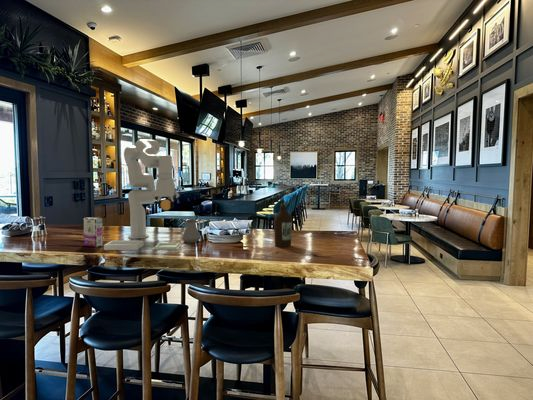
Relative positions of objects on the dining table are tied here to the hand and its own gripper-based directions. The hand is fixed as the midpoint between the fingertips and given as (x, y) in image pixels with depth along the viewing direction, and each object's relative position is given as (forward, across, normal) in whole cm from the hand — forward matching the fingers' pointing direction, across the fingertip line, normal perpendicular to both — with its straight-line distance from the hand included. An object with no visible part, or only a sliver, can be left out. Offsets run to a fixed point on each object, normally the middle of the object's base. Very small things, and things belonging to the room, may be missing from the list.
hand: (166, 208), depth 197 cm
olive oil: (+23, +67, 0) cm, 71 cm away
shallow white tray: (+23, -24, 0) cm, 33 cm away
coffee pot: (+23, +12, +21) cm, 33 cm away
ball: (+1, 0, 0) cm, 1 cm away
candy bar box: (+23, -44, +7) cm, 50 cm away
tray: (+23, 0, 0) cm, 23 cm away
